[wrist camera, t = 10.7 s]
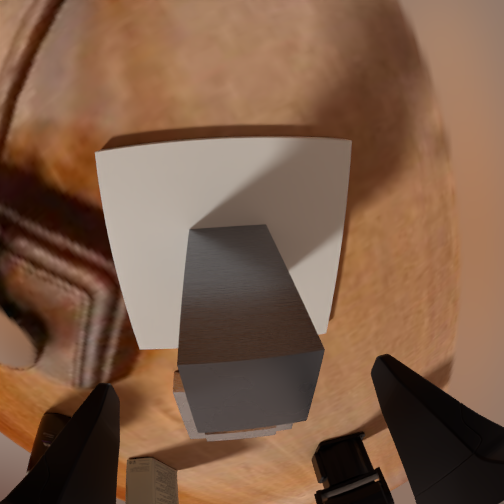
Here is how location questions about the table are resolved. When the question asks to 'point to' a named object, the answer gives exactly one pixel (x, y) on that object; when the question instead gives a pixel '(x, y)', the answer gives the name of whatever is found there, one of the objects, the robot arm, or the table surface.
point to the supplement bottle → (46, 435)
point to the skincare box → (150, 482)
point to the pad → (221, 215)
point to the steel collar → (215, 436)
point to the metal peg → (244, 333)
